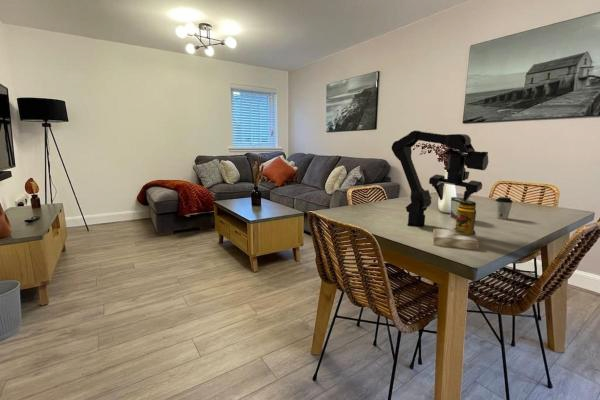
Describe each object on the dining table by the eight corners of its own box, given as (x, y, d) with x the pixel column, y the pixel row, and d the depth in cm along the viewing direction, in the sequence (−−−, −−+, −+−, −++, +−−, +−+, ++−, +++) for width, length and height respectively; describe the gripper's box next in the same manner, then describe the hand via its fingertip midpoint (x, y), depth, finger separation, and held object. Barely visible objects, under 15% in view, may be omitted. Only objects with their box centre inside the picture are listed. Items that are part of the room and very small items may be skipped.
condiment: (453, 234, 108) (457, 202, 106) (453, 228, 115) (457, 198, 113) (476, 237, 105) (480, 204, 102) (474, 231, 112) (479, 200, 110)
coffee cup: (502, 220, 138) (505, 199, 136) (489, 217, 145) (492, 197, 143) (514, 219, 140) (517, 199, 138) (501, 216, 146) (503, 196, 144)
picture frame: (433, 244, 106) (434, 236, 106) (432, 235, 117) (433, 228, 117) (478, 249, 101) (479, 241, 100) (473, 239, 112) (474, 231, 111)
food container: (475, 223, 134) (478, 201, 132) (462, 223, 134) (464, 201, 132) (461, 216, 146) (463, 196, 144) (449, 216, 146) (450, 196, 144)
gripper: (490, 164, 115) (484, 201, 121) (442, 158, 128) (439, 191, 134) (478, 172, 108) (473, 210, 114) (429, 164, 122) (427, 199, 128)
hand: (452, 202), depth 123 cm, fingers open, 9 cm apart
